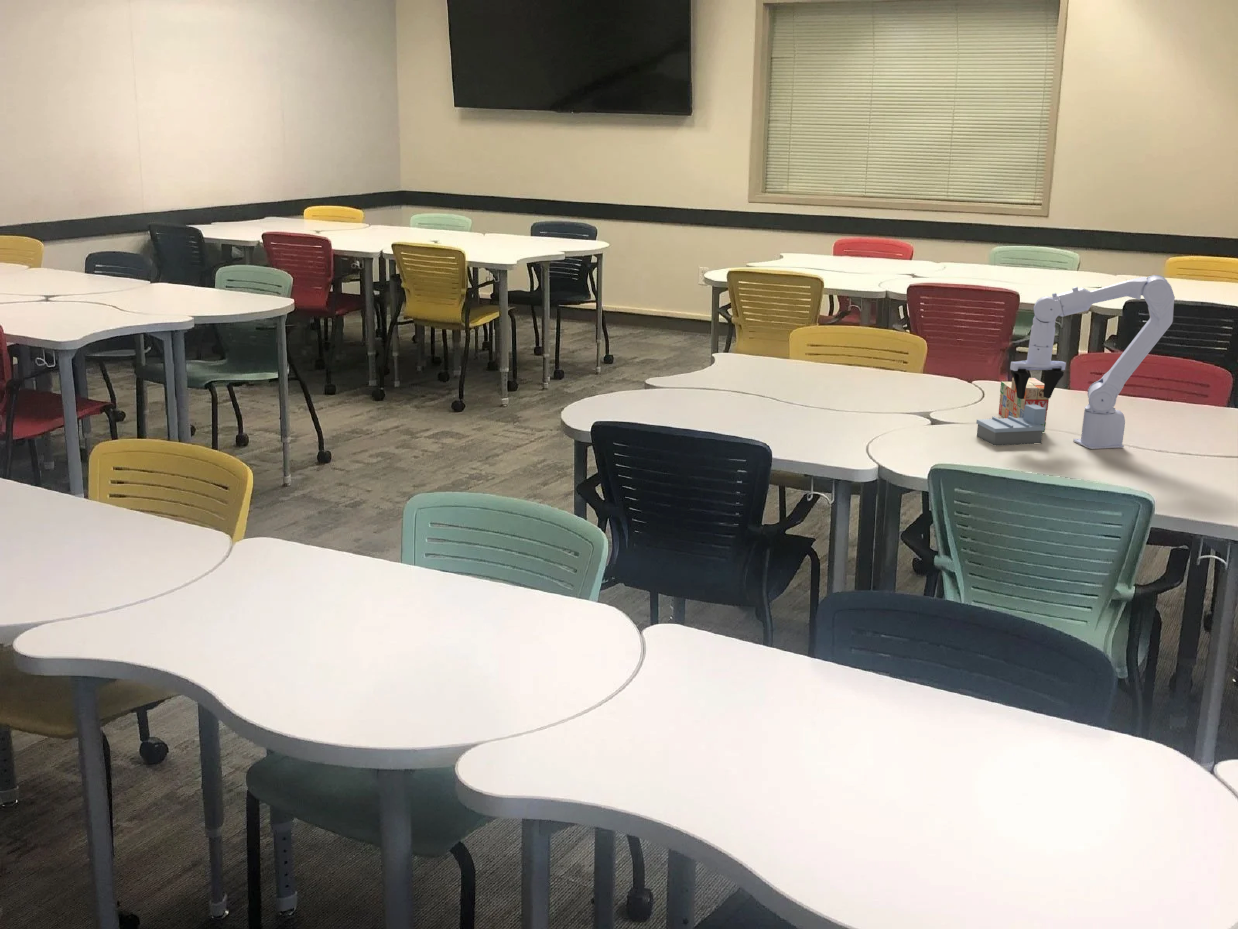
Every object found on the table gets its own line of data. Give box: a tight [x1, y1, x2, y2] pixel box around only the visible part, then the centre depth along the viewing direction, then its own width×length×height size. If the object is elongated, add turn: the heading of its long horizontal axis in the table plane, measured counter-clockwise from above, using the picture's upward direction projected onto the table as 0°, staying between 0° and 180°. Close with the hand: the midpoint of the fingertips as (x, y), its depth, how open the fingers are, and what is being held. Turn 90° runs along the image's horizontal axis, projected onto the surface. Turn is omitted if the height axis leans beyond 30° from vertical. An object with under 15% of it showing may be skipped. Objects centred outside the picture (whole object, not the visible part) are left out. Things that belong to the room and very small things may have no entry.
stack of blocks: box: [998, 377, 1050, 433], centre depth 321 cm, size 21×6×12 cm, turn 179°
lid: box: [975, 404, 1046, 433], centre depth 304 cm, size 15×10×5 cm, turn 102°
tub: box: [976, 424, 1043, 447], centre depth 305 cm, size 13×9×4 cm
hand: (1033, 397), depth 303 cm, fingers open, 7 cm apart
